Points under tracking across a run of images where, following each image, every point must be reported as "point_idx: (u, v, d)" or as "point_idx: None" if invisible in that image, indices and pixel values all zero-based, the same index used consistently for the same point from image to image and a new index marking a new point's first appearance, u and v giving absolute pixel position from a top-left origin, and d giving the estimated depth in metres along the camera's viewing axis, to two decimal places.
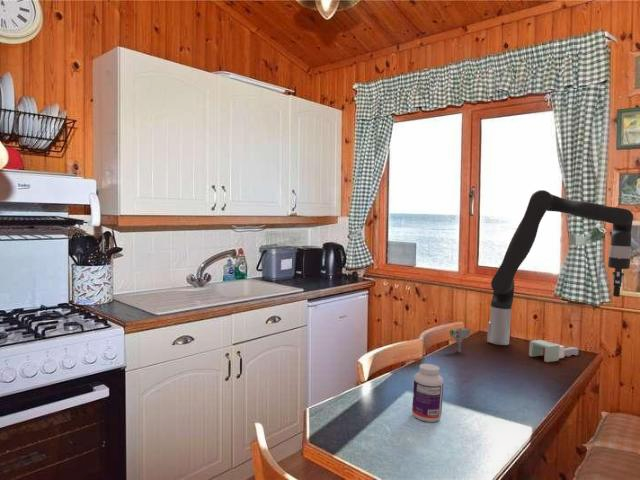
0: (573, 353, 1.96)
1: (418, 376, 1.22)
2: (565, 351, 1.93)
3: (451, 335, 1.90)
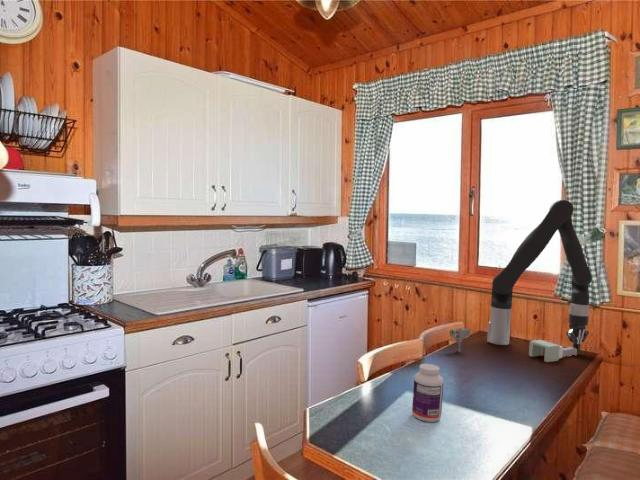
0: (572, 353, 1.95)
1: (418, 376, 1.22)
2: (564, 351, 1.93)
3: (451, 335, 1.90)
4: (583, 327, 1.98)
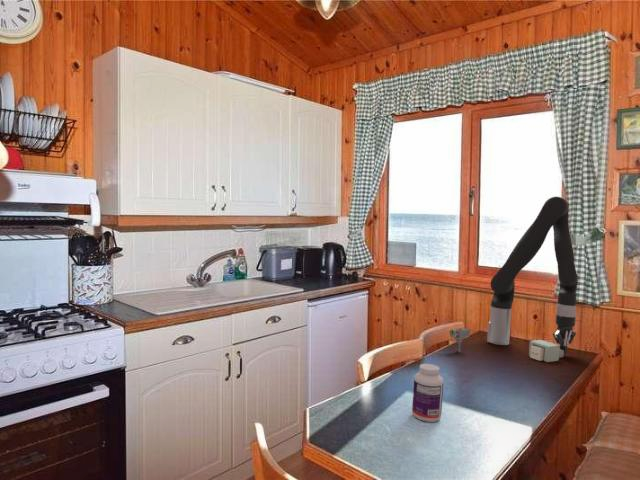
0: None
1: (418, 376, 1.22)
2: None
3: (451, 335, 1.90)
4: (570, 328, 1.94)
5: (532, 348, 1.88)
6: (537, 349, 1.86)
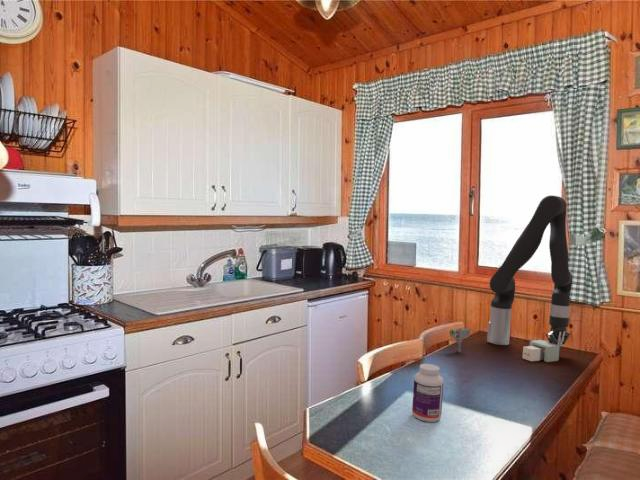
0: None
1: (418, 376, 1.22)
2: (542, 354, 1.87)
3: (451, 335, 1.90)
4: (564, 329, 1.92)
5: (524, 349, 1.87)
6: (529, 350, 1.84)
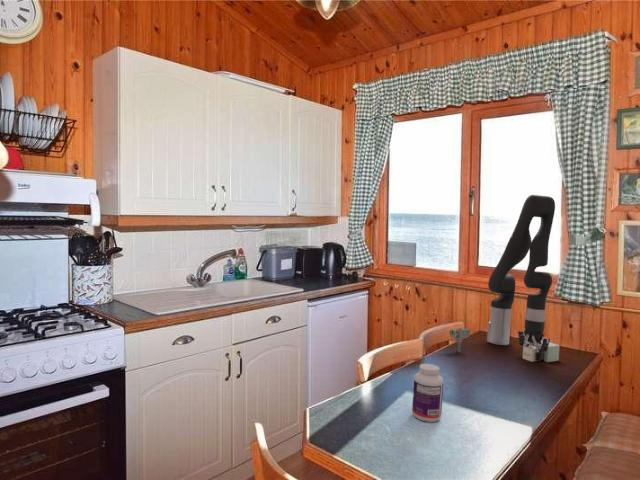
0: None
1: (418, 376, 1.22)
2: (542, 354, 1.87)
3: (451, 335, 1.90)
4: (536, 335, 1.83)
5: (524, 349, 1.87)
6: (529, 350, 1.84)
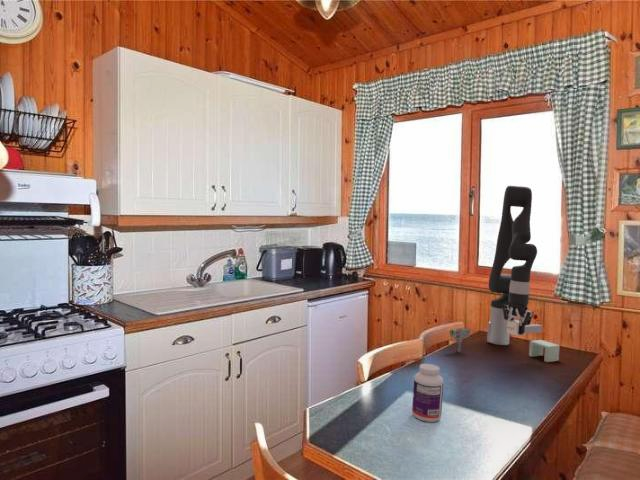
0: (536, 330, 1.84)
1: (418, 376, 1.22)
2: (526, 328, 1.82)
3: (451, 335, 1.90)
4: (520, 308, 1.78)
5: (508, 323, 1.81)
6: (513, 323, 1.79)
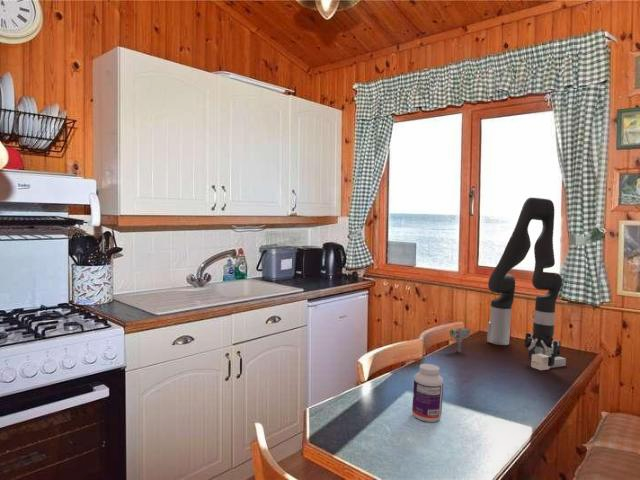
0: (560, 364, 1.79)
1: (418, 376, 1.22)
2: None
3: (451, 335, 1.90)
4: (545, 340, 1.73)
5: (533, 357, 1.75)
6: (538, 358, 1.73)
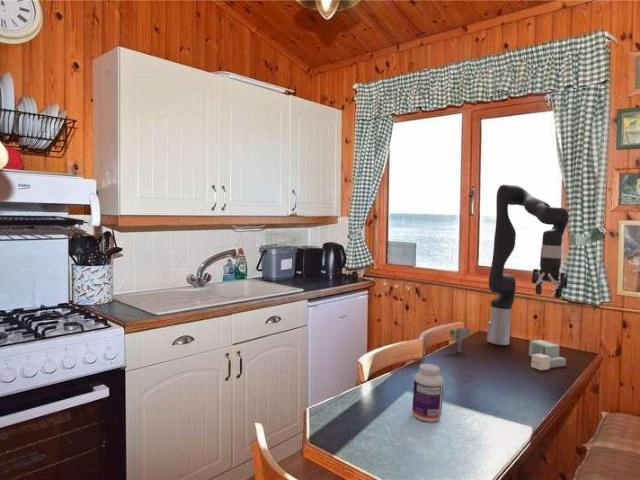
0: (560, 364, 1.79)
1: (418, 376, 1.22)
2: (551, 362, 1.76)
3: (451, 335, 1.90)
4: (552, 273, 1.76)
5: (533, 357, 1.75)
6: (538, 358, 1.73)
